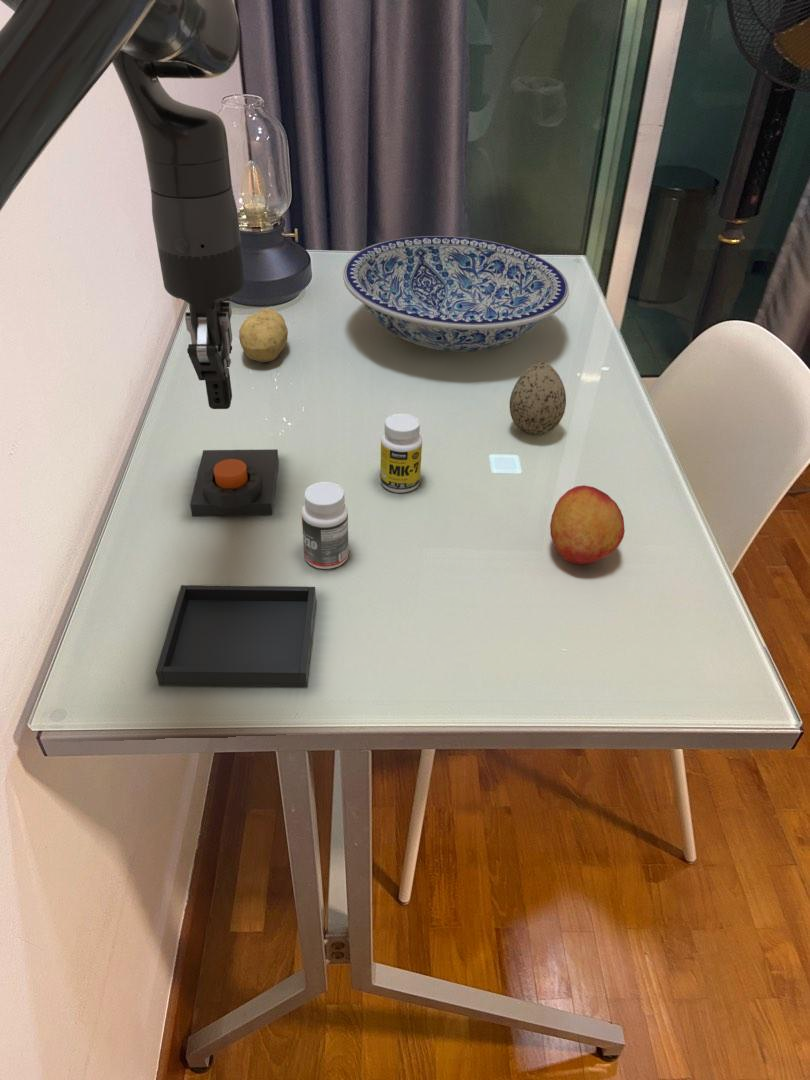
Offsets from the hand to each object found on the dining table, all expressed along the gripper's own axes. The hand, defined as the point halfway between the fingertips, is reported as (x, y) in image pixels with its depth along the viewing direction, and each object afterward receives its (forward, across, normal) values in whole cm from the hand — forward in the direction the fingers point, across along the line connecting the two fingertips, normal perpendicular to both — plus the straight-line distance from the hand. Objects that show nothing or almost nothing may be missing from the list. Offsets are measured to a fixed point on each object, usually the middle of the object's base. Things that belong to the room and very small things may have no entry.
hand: (221, 403), depth 85 cm
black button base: (+13, +3, 0) cm, 13 cm away
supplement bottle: (+13, +4, -19) cm, 24 cm away
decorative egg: (+13, +15, -38) cm, 42 cm away
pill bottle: (+13, -10, -11) cm, 20 cm away
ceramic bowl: (+13, +44, -30) cm, 55 cm away
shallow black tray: (+13, -22, -3) cm, 26 cm away
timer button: (+10, 0, 0) cm, 10 cm away
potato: (+13, +37, -1) cm, 39 cm away
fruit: (+13, -10, -38) cm, 42 cm away
